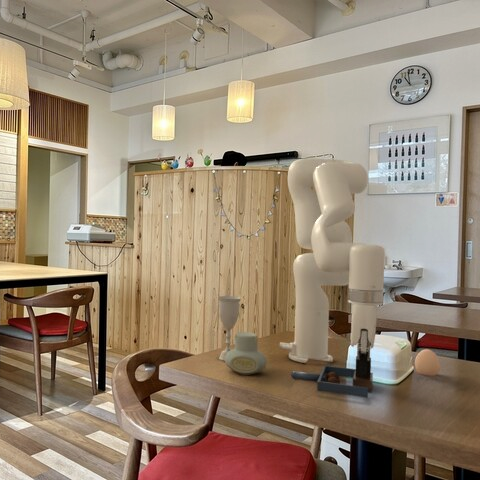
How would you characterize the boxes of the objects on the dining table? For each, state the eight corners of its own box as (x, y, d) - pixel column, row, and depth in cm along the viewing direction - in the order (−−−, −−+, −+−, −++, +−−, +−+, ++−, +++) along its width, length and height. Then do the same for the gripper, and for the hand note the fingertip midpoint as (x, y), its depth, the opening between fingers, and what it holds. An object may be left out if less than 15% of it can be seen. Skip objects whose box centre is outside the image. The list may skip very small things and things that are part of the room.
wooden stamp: (352, 394, 110) (353, 356, 110) (354, 384, 118) (355, 349, 118) (371, 396, 109) (372, 359, 109) (372, 387, 116) (373, 351, 116)
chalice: (234, 363, 137) (236, 299, 137) (211, 359, 140) (213, 297, 140) (242, 358, 143) (244, 297, 143) (221, 354, 147) (223, 295, 147)
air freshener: (267, 369, 131) (268, 332, 131) (265, 378, 123) (266, 338, 123) (226, 365, 134) (227, 329, 134) (222, 373, 126) (223, 335, 126)
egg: (433, 382, 123) (434, 353, 123) (410, 377, 128) (411, 348, 128) (443, 379, 126) (444, 350, 126) (420, 374, 131) (421, 346, 131)
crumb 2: (333, 377, 113) (340, 387, 112) (335, 373, 115) (343, 383, 114) (323, 382, 114) (330, 392, 113) (325, 378, 116) (332, 388, 116)
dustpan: (368, 384, 120) (368, 370, 120) (367, 403, 105) (367, 388, 105) (295, 374, 127) (296, 361, 127) (285, 391, 112) (286, 376, 112)
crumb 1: (340, 381, 116) (331, 387, 117) (342, 377, 119) (333, 383, 120) (332, 371, 117) (323, 378, 118) (333, 368, 120) (325, 374, 121)
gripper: (349, 292, 122) (347, 365, 122) (346, 299, 107) (344, 382, 107) (382, 294, 119) (380, 369, 119) (383, 302, 104) (381, 387, 104)
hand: (363, 374), depth 113 cm, fingers closed on wooden stamp, 2 cm apart
